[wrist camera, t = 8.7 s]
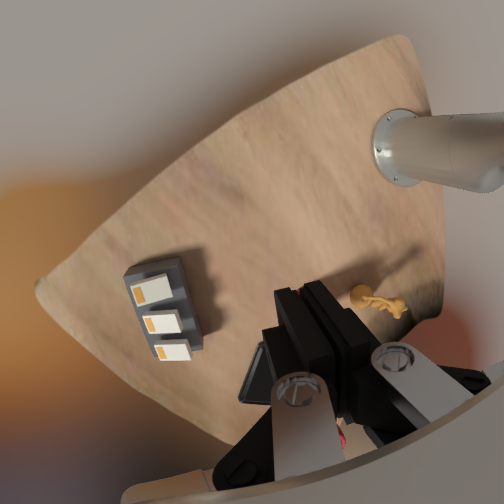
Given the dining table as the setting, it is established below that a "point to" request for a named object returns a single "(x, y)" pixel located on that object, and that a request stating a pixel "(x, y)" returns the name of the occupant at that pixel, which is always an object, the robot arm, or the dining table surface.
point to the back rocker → (173, 349)
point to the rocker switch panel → (168, 301)
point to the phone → (257, 380)
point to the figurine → (376, 301)
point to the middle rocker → (163, 321)
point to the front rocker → (151, 289)
